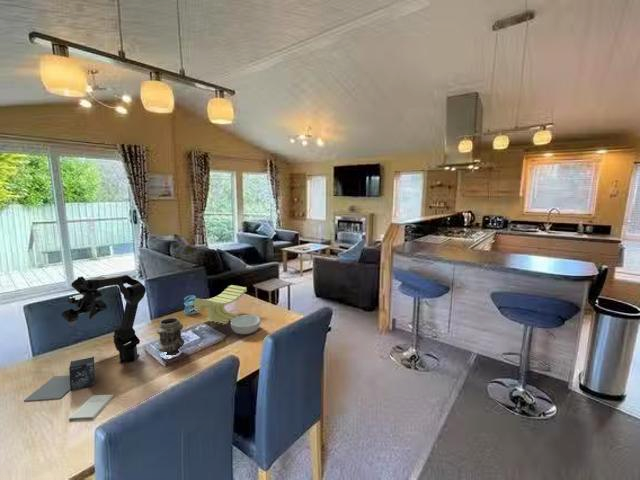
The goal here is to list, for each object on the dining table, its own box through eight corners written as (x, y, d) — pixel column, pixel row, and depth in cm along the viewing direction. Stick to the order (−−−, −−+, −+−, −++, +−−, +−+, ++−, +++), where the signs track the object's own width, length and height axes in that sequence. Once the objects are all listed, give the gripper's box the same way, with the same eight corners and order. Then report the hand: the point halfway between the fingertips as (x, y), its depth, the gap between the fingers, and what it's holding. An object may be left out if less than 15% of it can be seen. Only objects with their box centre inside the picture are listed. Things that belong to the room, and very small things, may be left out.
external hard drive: (69, 422, 108) (91, 398, 120) (93, 420, 109) (113, 397, 121) (68, 418, 108) (91, 395, 120) (93, 416, 109) (113, 394, 121)
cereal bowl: (224, 335, 174) (224, 323, 173) (242, 323, 190) (242, 313, 189) (249, 340, 168) (249, 328, 167) (265, 328, 183) (265, 317, 182)
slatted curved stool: (229, 308, 214) (228, 284, 211) (247, 312, 207) (246, 287, 205) (195, 325, 187) (193, 297, 185) (214, 330, 180) (213, 301, 178)
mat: (86, 375, 135) (86, 374, 135) (60, 398, 120) (60, 397, 120) (54, 377, 134) (53, 376, 134) (23, 401, 118) (23, 400, 118)
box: (70, 391, 123) (68, 367, 122) (72, 384, 128) (70, 360, 126) (94, 386, 128) (93, 362, 126) (95, 378, 132) (94, 356, 131)
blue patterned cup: (182, 313, 206) (181, 296, 204) (195, 309, 212) (193, 293, 210) (186, 316, 201) (185, 299, 199) (199, 313, 206) (198, 296, 204)
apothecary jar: (176, 346, 161) (174, 313, 159) (189, 353, 154) (187, 319, 152) (153, 355, 152) (150, 321, 149) (166, 363, 145) (163, 327, 142)
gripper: (97, 284, 162) (88, 306, 166) (57, 295, 144) (49, 319, 148) (111, 296, 160) (102, 318, 164) (73, 309, 142) (64, 333, 146)
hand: (80, 322), depth 156 cm, fingers open, 9 cm apart
